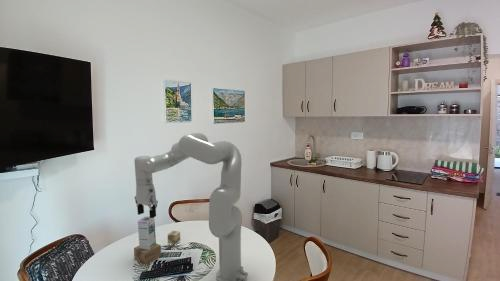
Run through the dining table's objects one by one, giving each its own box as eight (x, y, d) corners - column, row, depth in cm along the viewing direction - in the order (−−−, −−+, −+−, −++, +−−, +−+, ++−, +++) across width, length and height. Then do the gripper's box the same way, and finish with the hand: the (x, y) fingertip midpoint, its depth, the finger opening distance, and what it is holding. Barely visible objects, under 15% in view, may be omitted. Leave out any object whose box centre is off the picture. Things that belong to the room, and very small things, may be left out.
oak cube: (180, 239, 150) (180, 231, 150) (175, 244, 146) (175, 235, 145) (172, 239, 152) (172, 230, 151) (167, 243, 147) (167, 234, 146)
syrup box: (149, 250, 127) (147, 221, 126) (138, 248, 129) (137, 220, 127) (156, 244, 133) (154, 216, 131) (146, 243, 134) (144, 215, 133)
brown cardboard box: (161, 256, 132) (160, 245, 132) (145, 265, 125) (144, 253, 124) (150, 251, 137) (149, 240, 137) (134, 259, 130) (133, 247, 129)
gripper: (162, 181, 126) (164, 216, 127) (140, 178, 135) (143, 210, 137) (148, 185, 119) (151, 221, 121) (127, 181, 129) (129, 214, 131)
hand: (146, 215), depth 129 cm, fingers open, 9 cm apart
